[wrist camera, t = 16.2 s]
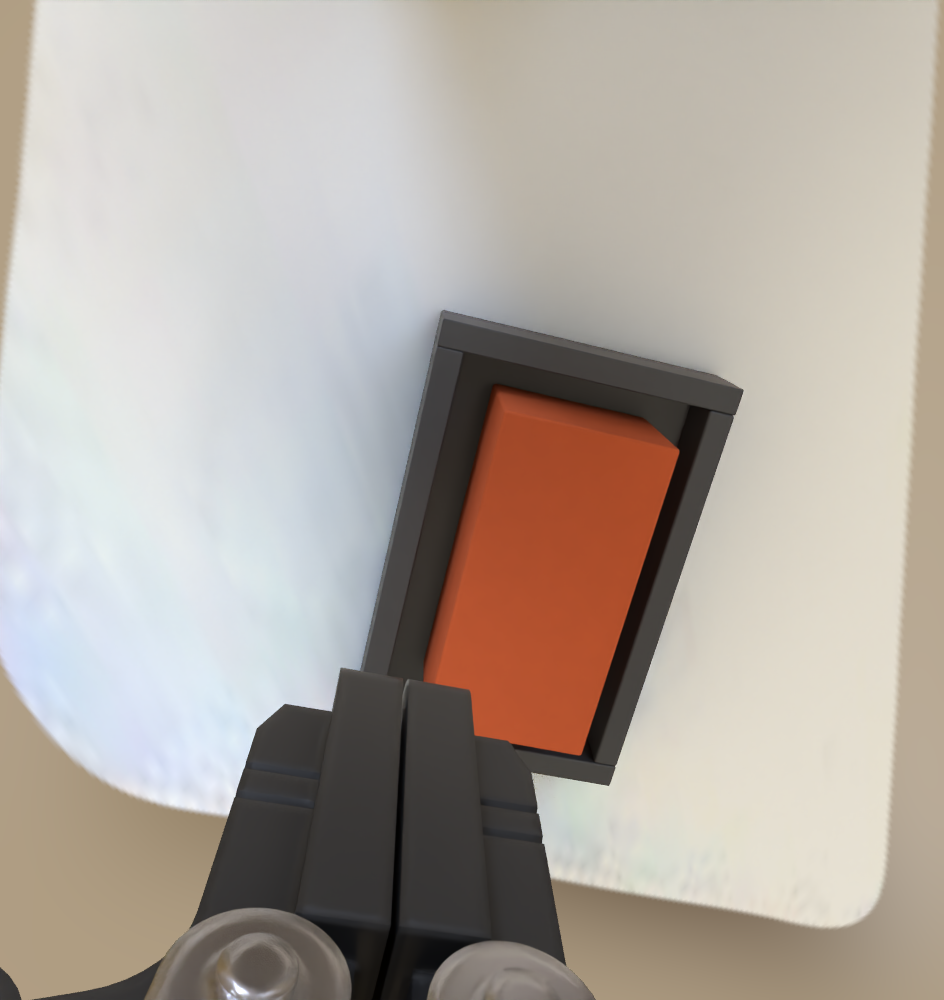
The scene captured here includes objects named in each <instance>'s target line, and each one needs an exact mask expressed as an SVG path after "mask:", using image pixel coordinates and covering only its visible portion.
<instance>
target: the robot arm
mask: <svg viewBox="0 0 944 1000" xmlns="http://www.w3.org/2000/svg"><path fill="white" fill-rule="evenodd" d="M542 838H543V835H542V829H541V824H540V818H539V814H537V802H536V796H535V790H534V785H533V779H532V774H531V772H530V770H529V769H528V767H527V766H526V765H525V763H524V762H523V761H522V759H521V758H520V756H519V755H518V754H517V752H516V751H515V749H514V748H513V747H512V745H511V744H510V743H509V741H506V740H500V739H494V738H488V737H482V736H476V735H474V724H473V712H472V700H471V692H470V690H469V689H463V688H457V687H451V686H446V685H440V684H434V683H428V682H422V681H417V680H411V679H408V680H407V682H406V684H405V687H404V691H403V678H398V677H392V676H386V675H381V674H375V673H369V672H363V671H357V670H352V669H346V668H341V670H340V674H339V679H338V684H337V689H336V694H335V699H334V704H333V709H332V712H330V711H324V710H318V709H312V708H306V707H300V706H294V705H288V704H284V705H283V706H282V707H281V708H280V709H279V710H278V711H276V712H275V713H274V714H273V715H272V716H271V717H270V718H268V719H267V720H266V721H265V722H264V723H263V724H262V725H260V726H259V727H258V728H257V730H256V733H255V736H254V739H253V742H252V745H251V748H250V752H249V755H248V758H247V761H246V765H245V768H244V770H243V773H242V776H241V779H240V782H239V785H238V788H237V793H236V797H235V798H234V801H233V804H232V807H231V810H230V813H229V816H228V819H227V822H226V825H225V828H224V832H223V835H222V838H221V841H220V844H219V847H218V850H217V853H216V856H215V859H214V862H213V865H212V868H211V872H210V875H209V878H208V881H207V884H206V887H205V890H204V893H203V896H202V899H201V902H200V905H199V908H198V911H197V914H196V916H195V918H194V921H193V923H192V925H191V927H190V928H189V930H188V931H187V932H186V933H184V934H183V935H182V936H181V937H180V938H179V939H178V940H177V941H176V942H175V943H174V944H173V945H172V947H171V948H170V949H169V950H168V952H167V953H166V955H165V956H164V957H163V958H162V959H161V960H160V961H158V962H157V963H155V964H153V965H152V966H150V967H149V968H147V969H146V970H144V971H142V972H140V973H138V974H137V975H134V976H132V977H130V978H128V979H126V980H123V981H121V982H118V983H115V984H112V985H109V986H106V987H102V988H97V989H93V990H88V991H83V992H77V993H71V994H65V995H58V996H52V997H47V998H41V999H34V1000H595V998H594V996H593V994H592V993H591V992H590V991H589V989H588V988H587V987H586V985H585V984H584V983H583V982H582V981H581V979H580V978H579V977H578V976H577V975H575V973H573V971H571V970H570V969H569V968H568V967H567V966H566V962H565V958H564V952H563V946H562V941H561V935H560V930H559V924H558V919H557V913H556V908H555V902H554V896H553V891H552V886H551V879H550V874H549V868H548V863H547V857H546V852H545V846H544V844H542ZM0 1000H21V997H20V994H19V991H18V988H17V987H16V985H15V984H14V982H13V981H12V979H11V978H10V976H9V975H8V974H7V973H6V972H5V971H3V970H2V969H1V968H0Z"/></svg>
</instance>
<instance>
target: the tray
mask: <svg viewBox="0 0 944 1000" xmlns="http://www.w3.org/2000/svg"><path fill="white" fill-rule="evenodd" d="M494 384H500V385H504V386H508V387H513V388H517V389H521V390H526V391H530V392H534V393H539V394H543V395H547V396H552V397H556V398H560V399H565V400H569V401H573V402H577V403H582V404H586V405H590V406H595V407H599V408H603V409H608V410H612V411H616V412H621V413H625V414H629V415H633V416H638V417H642V418H644V419H646V420H647V421H648V422H649V423H650V424H651V425H652V426H653V427H654V428H656V429H657V430H658V431H659V432H660V433H661V434H662V435H663V436H664V437H665V438H667V439H668V440H669V441H670V442H671V443H672V444H673V445H674V446H675V447H676V448H678V449H679V455H678V459H677V462H676V465H675V468H674V471H673V474H672V477H671V480H670V483H669V486H668V489H667V492H666V495H665V499H664V502H663V505H662V508H661V511H660V514H659V517H658V520H657V523H656V526H655V529H654V532H653V536H652V539H651V542H650V545H649V548H648V551H647V554H646V557H645V560H644V563H643V566H642V569H641V573H640V576H639V579H638V582H637V585H636V588H635V591H634V594H633V597H632V600H631V603H630V606H629V610H628V613H627V616H626V619H625V622H624V625H623V628H622V631H621V634H620V637H619V640H618V643H617V646H616V650H615V653H614V656H613V659H612V662H611V665H610V668H609V671H608V674H607V677H606V680H605V683H604V687H603V690H602V693H601V696H600V699H599V702H598V705H597V708H596V711H595V714H594V717H593V720H592V724H591V727H590V730H589V733H588V736H587V739H586V742H585V745H584V748H583V751H582V754H581V755H573V754H568V753H562V752H556V751H551V750H545V749H540V748H534V747H528V746H523V745H517V744H512V743H510V744H511V745H512V747H513V748H514V749H515V751H516V752H517V754H518V755H519V756H520V758H521V759H522V761H523V762H524V763H525V765H526V766H527V767H528V769H529V770H530V772H532V773H538V774H544V775H550V776H555V777H561V778H567V779H573V780H578V781H584V782H590V783H596V784H601V785H607V786H609V785H610V782H611V779H612V776H613V773H614V771H615V766H616V764H617V761H618V758H619V755H620V752H621V749H622V746H623V743H624V740H625V737H626V734H627V732H628V729H629V726H630V723H631V720H632V717H633V714H634V711H635V708H636V705H637V702H638V699H639V696H640V693H641V690H642V687H643V684H644V681H645V678H646V675H647V672H648V670H649V667H650V664H651V661H652V658H653V655H654V652H655V649H656V646H657V643H658V640H659V637H660V634H661V631H662V628H663V625H664V622H665V619H666V616H667V613H668V610H669V608H670V605H671V602H672V599H673V596H674V593H675V590H676V587H677V584H678V581H679V578H680V575H681V572H682V569H683V566H684V563H685V560H686V557H687V554H688V551H689V548H690V546H691V543H692V540H693V537H694V534H695V531H696V528H697V525H698V522H699V519H700V516H701V513H702V510H703V507H704V504H705V501H706V498H707V495H708V492H709V489H710V486H711V484H712V481H713V478H714V475H715V472H716V469H717V466H718V463H719V460H720V457H721V454H722V451H723V448H724V445H725V442H726V439H727V436H728V433H729V430H730V427H731V424H732V422H733V419H734V416H733V415H735V414H736V411H737V409H738V406H739V403H740V400H741V397H742V394H743V389H741V388H739V387H737V386H735V385H733V384H732V383H730V382H728V381H726V380H724V379H722V378H720V377H718V376H716V375H712V374H708V373H703V372H699V371H695V370H691V369H687V368H683V367H678V366H674V365H670V364H666V363H662V362H658V361H653V360H649V359H645V358H641V357H637V356H633V355H628V354H624V353H620V352H616V351H612V350H608V349H603V348H599V347H595V346H591V345H587V344H583V343H578V342H574V341H570V340H566V339H562V338H558V337H553V336H549V335H545V334H541V333H537V332H532V331H528V330H524V329H520V328H516V327H512V326H507V325H503V324H499V323H495V322H491V321H487V320H482V319H478V318H474V317H470V316H466V315H462V314H457V313H453V312H449V311H445V310H442V311H441V315H440V319H439V324H438V328H437V333H436V337H435V342H434V346H433V351H432V355H431V359H430V364H429V368H428V373H427V377H426V382H425V386H424V390H423V395H422V399H421V404H420V408H419V413H418V417H417V421H416V426H415V430H414V435H413V439H412V444H411V448H410V452H409V457H408V461H407V466H406V470H405V475H404V479H403V484H402V488H401V492H400V497H399V501H398V506H397V510H396V515H395V519H394V523H393V528H392V532H391V537H390V541H389V546H388V550H387V554H386V559H385V563H384V568H383V572H382V577H381V581H380V586H379V590H378V594H377V599H376V603H375V608H374V612H373V617H372V621H371V625H370V630H369V634H368V639H367V643H366V648H365V652H364V656H363V661H362V665H361V670H360V671H363V672H369V673H375V674H381V675H386V676H392V677H398V678H403V691H404V687H405V684H406V682H407V680H408V679H411V680H417V681H422V682H423V662H424V658H425V654H426V650H427V646H428V642H429V638H430V634H431V630H432V626H433V622H434V618H435V614H436V610H437V606H438V602H439V598H440V594H441V590H442V586H443V582H444V578H445V574H446V570H447V566H448V562H449V558H450V554H451V550H452V546H453V542H454V538H455V534H456V530H457V526H458V522H459V518H460V514H461V510H462V506H463V502H464V498H465V494H466V490H467V486H468V482H469V479H470V475H471V471H472V467H473V463H474V459H475V455H476V451H477V447H478V443H479V439H480V435H481V431H482V427H483V423H484V419H485V415H486V411H487V407H488V403H489V399H490V395H491V391H492V387H493V385H494Z"/></svg>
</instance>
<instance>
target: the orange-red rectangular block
mask: <svg viewBox="0 0 944 1000" xmlns="http://www.w3.org/2000/svg"><path fill="white" fill-rule="evenodd" d="M678 455H679V449H678V448H676V447H675V446H674V445H673V444H672V443H671V442H670V441H669V440H668V439H667V438H665V437H664V436H663V435H662V434H661V433H660V432H659V431H658V430H657V429H656V428H654V427H653V426H652V425H651V424H650V423H649V422H648V421H647V420H646V419H644V418H642V417H638V416H633V415H629V414H625V413H621V412H616V411H612V410H608V409H603V408H599V407H595V406H590V405H586V404H582V403H577V402H573V401H569V400H565V399H560V398H556V397H552V396H547V395H543V394H539V393H534V392H530V391H526V390H521V389H517V388H513V387H508V386H504V385H500V384H494V385H493V387H492V391H491V395H490V399H489V403H488V407H487V411H486V415H485V419H484V423H483V427H482V431H481V435H480V439H479V443H478V447H477V451H476V455H475V459H474V463H473V467H472V471H471V475H470V479H469V482H468V486H467V490H466V494H465V498H464V502H463V506H462V510H461V514H460V518H459V522H458V526H457V530H456V534H455V538H454V542H453V546H452V550H451V554H450V558H449V562H448V566H447V570H446V574H445V578H444V582H443V586H442V590H441V594H440V598H439V602H438V606H437V610H436V614H435V618H434V622H433V626H432V630H431V634H430V638H429V642H428V646H427V650H426V654H425V658H424V662H423V682H428V683H434V684H440V685H446V686H451V687H457V688H463V689H469V690H470V692H471V700H472V712H473V724H474V735H476V736H482V737H488V738H494V739H500V740H506V741H509V743H512V744H517V745H523V746H528V747H534V748H540V749H545V750H551V751H556V752H562V753H568V754H573V755H581V754H582V751H583V748H584V745H585V742H586V739H587V736H588V733H589V730H590V727H591V724H592V720H593V717H594V714H595V711H596V708H597V705H598V702H599V699H600V696H601V693H602V690H603V687H604V683H605V680H606V677H607V674H608V671H609V668H610V665H611V662H612V659H613V656H614V653H615V650H616V646H617V643H618V640H619V637H620V634H621V631H622V628H623V625H624V622H625V619H626V616H627V613H628V610H629V606H630V603H631V600H632V597H633V594H634V591H635V588H636V585H637V582H638V579H639V576H640V573H641V569H642V566H643V563H644V560H645V557H646V554H647V551H648V548H649V545H650V542H651V539H652V536H653V532H654V529H655V526H656V523H657V520H658V517H659V514H660V511H661V508H662V505H663V502H664V499H665V495H666V492H667V489H668V486H669V483H670V480H671V477H672V474H673V471H674V468H675V465H676V462H677V459H678Z"/></svg>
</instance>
